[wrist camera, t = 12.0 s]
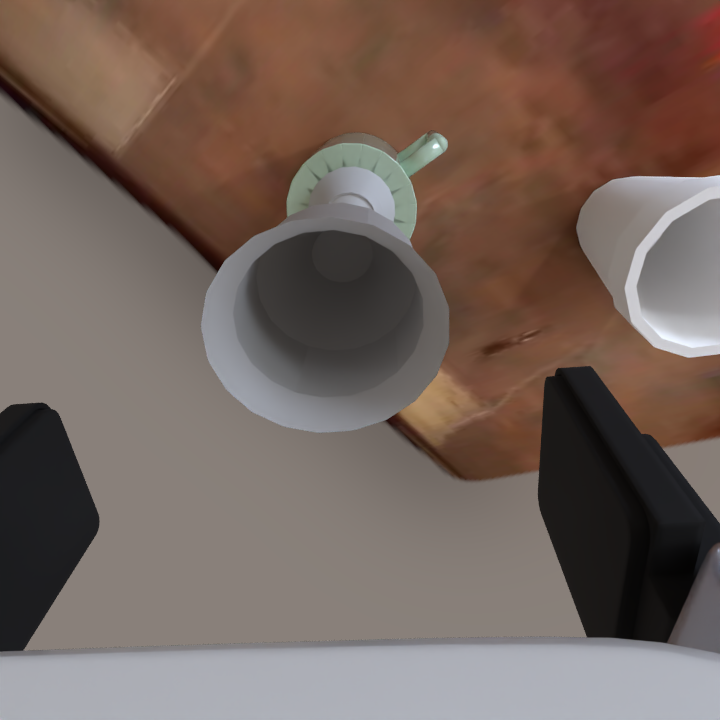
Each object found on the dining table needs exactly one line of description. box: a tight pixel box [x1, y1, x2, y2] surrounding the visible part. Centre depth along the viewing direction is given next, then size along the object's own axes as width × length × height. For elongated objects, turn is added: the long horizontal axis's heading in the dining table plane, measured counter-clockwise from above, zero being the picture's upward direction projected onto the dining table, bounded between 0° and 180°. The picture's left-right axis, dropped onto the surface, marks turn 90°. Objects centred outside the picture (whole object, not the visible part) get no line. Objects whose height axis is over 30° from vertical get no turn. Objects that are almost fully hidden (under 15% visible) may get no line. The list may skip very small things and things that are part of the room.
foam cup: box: [576, 175, 720, 358], centre depth 35 cm, size 10×9×13 cm
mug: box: [286, 130, 448, 240], centre depth 36 cm, size 10×8×8 cm
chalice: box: [201, 166, 449, 433], centre depth 24 cm, size 7×7×18 cm
